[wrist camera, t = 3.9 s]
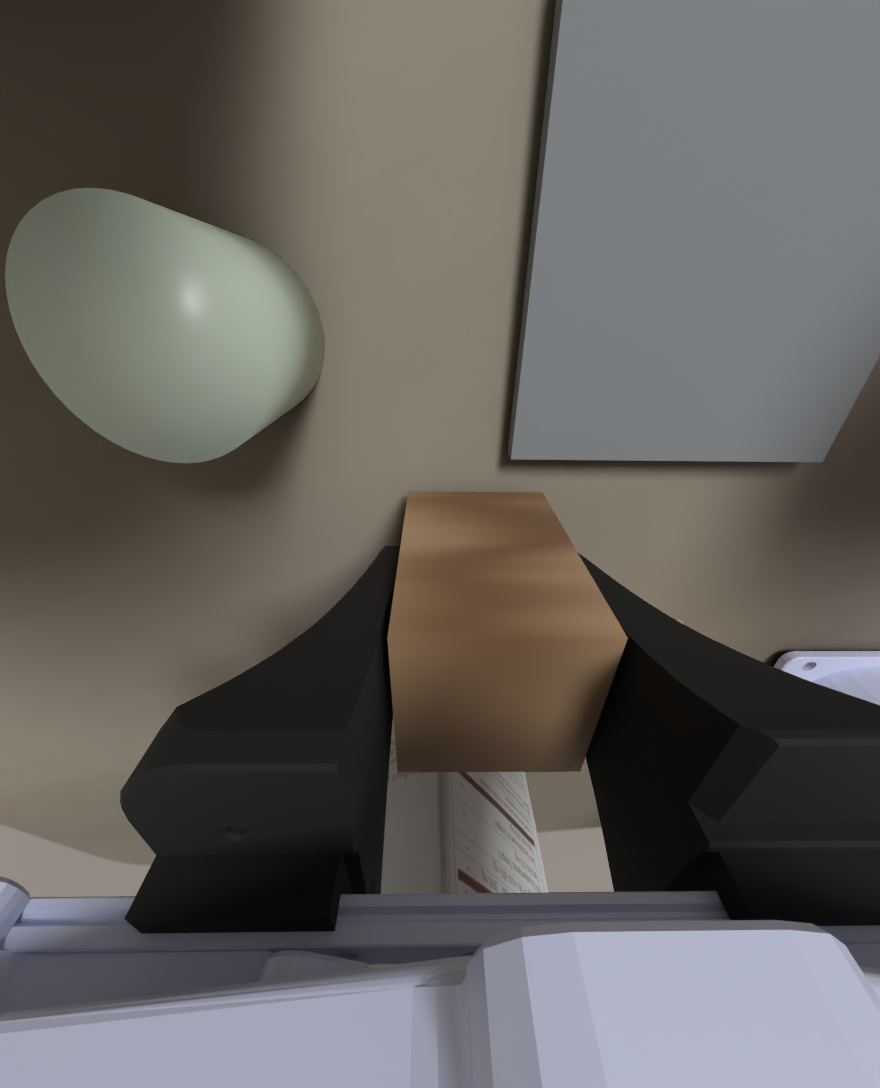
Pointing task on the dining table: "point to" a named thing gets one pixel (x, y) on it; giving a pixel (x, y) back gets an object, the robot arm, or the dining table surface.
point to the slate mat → (702, 232)
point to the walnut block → (495, 638)
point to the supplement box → (459, 834)
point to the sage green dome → (160, 323)
